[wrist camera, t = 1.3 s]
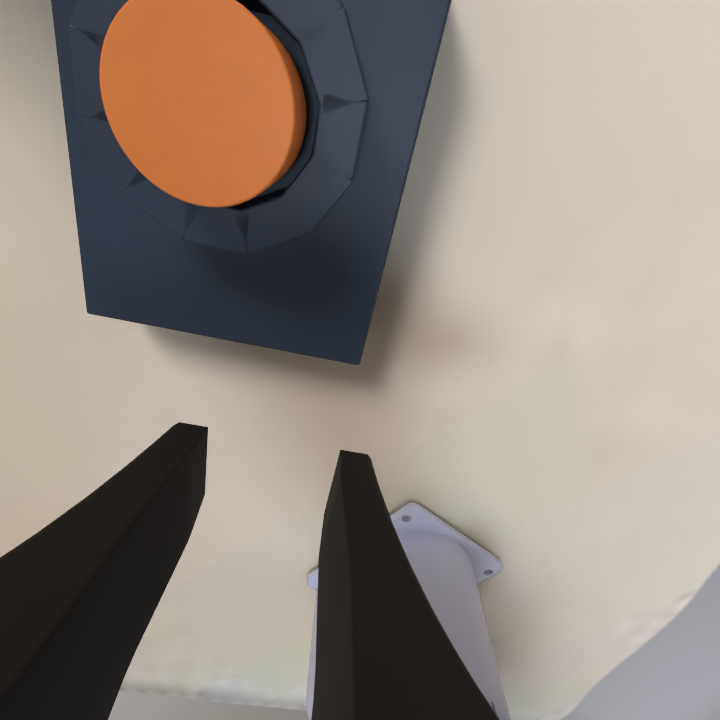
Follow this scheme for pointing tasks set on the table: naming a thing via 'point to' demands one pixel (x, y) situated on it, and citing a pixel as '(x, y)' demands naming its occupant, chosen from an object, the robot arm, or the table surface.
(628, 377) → the table surface
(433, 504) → the table surface
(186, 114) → the orange button
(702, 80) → the table surface
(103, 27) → the dark blue button base
